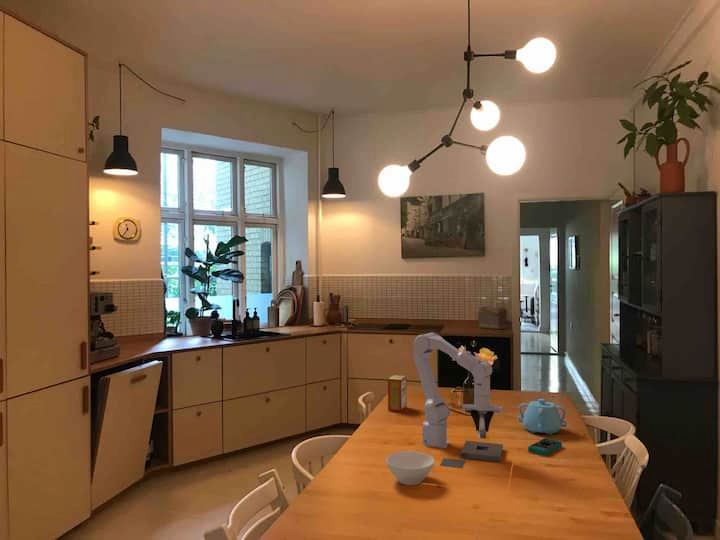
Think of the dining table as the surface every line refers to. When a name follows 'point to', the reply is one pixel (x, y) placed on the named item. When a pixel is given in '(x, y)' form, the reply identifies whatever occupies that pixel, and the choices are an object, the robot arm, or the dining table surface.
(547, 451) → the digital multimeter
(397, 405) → the baking soda box
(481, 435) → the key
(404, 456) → the bowl
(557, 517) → the dining table surface
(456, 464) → the key mat
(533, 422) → the decorative pot
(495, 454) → the chuck block
